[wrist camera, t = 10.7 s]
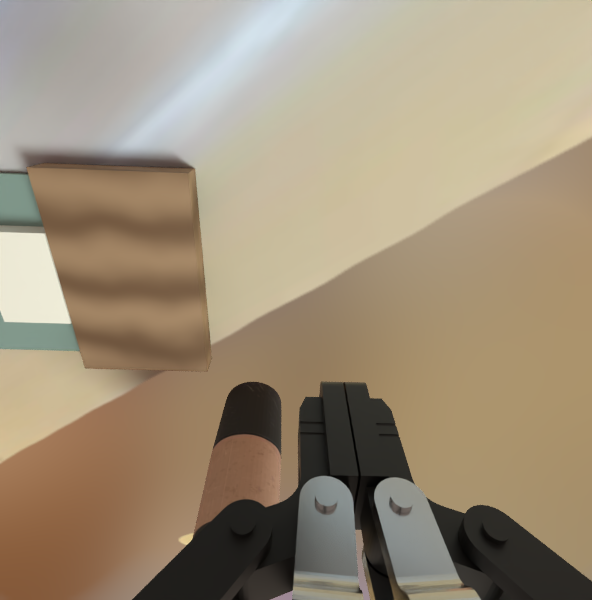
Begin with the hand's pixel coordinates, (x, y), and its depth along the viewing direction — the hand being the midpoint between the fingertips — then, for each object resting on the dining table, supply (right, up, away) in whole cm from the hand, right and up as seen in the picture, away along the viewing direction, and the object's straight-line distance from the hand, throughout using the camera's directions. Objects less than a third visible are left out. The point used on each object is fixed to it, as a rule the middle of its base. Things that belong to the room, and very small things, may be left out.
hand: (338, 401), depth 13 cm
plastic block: (-29, +6, +26) cm, 39 cm away
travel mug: (-7, -10, +36) cm, 38 cm away
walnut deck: (-18, +6, +27) cm, 33 cm away
